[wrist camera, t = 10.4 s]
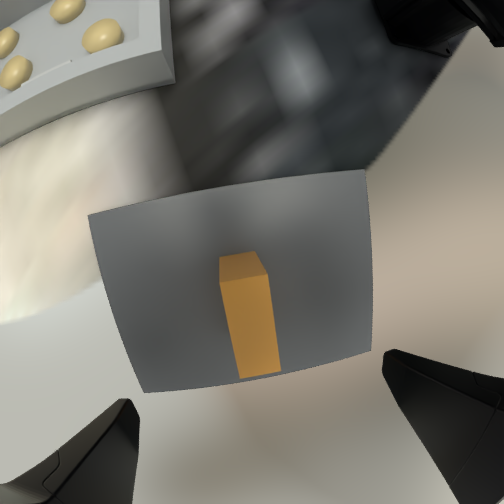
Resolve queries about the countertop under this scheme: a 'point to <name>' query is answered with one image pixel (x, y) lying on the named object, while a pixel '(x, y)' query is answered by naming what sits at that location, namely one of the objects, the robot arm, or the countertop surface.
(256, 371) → the grey lid
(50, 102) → the tub
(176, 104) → the countertop surface
